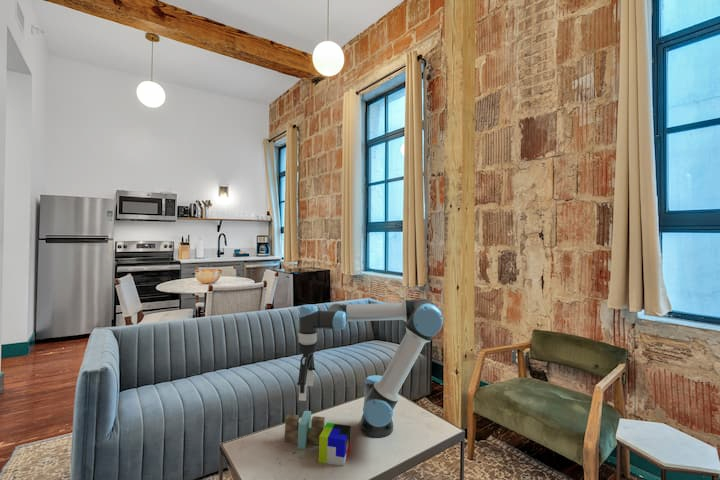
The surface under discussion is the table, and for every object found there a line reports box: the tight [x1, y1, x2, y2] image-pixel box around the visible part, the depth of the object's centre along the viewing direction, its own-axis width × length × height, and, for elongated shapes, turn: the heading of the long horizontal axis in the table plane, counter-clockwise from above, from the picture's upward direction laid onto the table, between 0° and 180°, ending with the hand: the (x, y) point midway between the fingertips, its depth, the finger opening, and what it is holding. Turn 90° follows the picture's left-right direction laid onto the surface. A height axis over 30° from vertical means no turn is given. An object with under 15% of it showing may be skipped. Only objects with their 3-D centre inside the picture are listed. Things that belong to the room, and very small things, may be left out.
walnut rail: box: [284, 413, 326, 445], centre depth 146 cm, size 16×3×10 cm, turn 86°
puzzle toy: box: [318, 422, 352, 467], centre depth 137 cm, size 10×10×10 cm
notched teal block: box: [297, 410, 312, 450], centre depth 146 cm, size 11×3×10 cm, turn 176°
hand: (306, 392), depth 146 cm, fingers open, 13 cm apart
